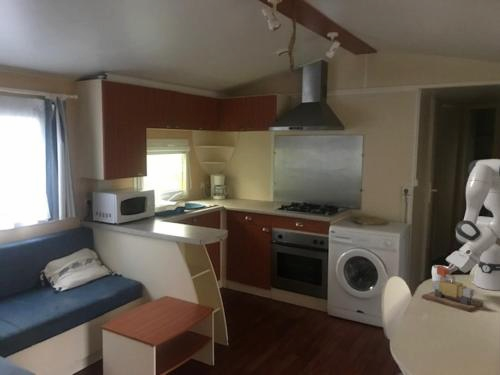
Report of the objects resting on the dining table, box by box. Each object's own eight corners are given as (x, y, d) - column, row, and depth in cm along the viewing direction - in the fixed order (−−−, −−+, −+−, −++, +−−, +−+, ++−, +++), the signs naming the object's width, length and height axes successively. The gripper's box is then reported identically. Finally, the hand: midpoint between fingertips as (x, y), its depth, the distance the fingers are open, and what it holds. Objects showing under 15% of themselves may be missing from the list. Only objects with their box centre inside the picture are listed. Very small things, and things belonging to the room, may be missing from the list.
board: (435, 293, 212) (436, 290, 212) (482, 306, 194) (482, 303, 194) (421, 298, 204) (421, 295, 204) (469, 311, 186) (469, 308, 185)
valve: (436, 293, 207) (437, 277, 206) (473, 303, 193) (474, 286, 192) (430, 295, 203) (431, 279, 203) (468, 306, 189) (469, 288, 188)
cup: (447, 292, 214) (448, 270, 214) (428, 289, 220) (430, 267, 219) (450, 288, 222) (451, 267, 221) (433, 285, 227) (434, 264, 226)
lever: (456, 282, 197) (457, 272, 196) (450, 282, 196) (451, 272, 196) (442, 275, 210) (442, 266, 210) (436, 275, 210) (437, 266, 209)
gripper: (455, 245, 215) (435, 263, 216) (472, 253, 195) (451, 272, 196) (464, 254, 215) (444, 271, 216) (482, 262, 194) (460, 282, 196)
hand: (447, 272), depth 206 cm, fingers closed
